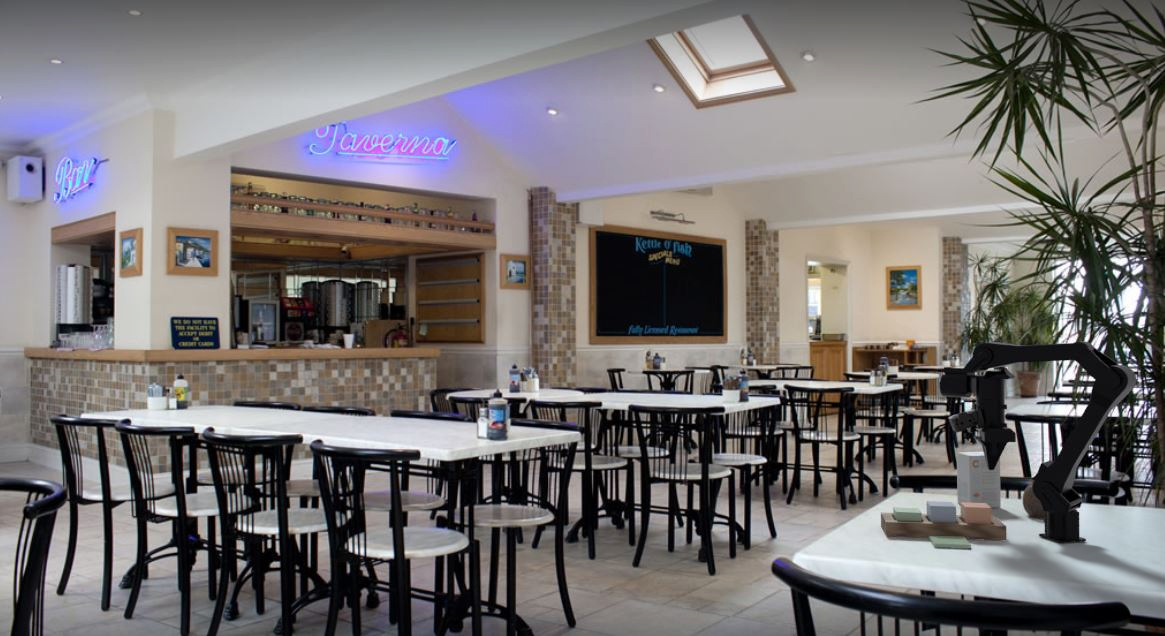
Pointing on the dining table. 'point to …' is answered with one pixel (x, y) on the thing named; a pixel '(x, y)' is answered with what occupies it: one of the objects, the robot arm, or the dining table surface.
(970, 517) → the terracotta button
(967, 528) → the walnut panel
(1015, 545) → the dining table surface
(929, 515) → the slate button
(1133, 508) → the dining table surface
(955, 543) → the sage tile
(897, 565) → the dining table surface
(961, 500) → the small box
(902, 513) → the sage button
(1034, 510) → the vase
